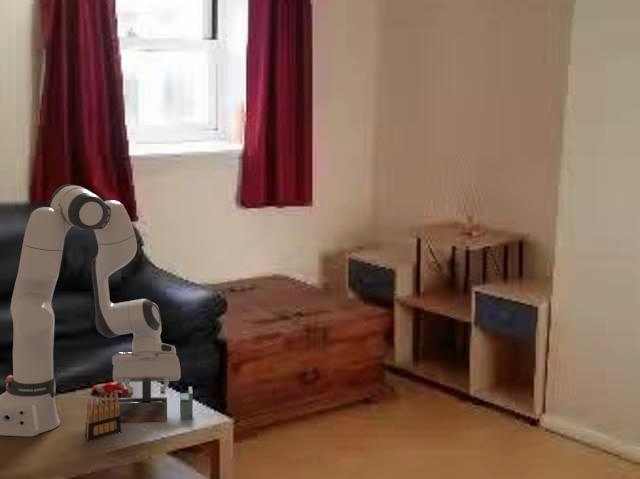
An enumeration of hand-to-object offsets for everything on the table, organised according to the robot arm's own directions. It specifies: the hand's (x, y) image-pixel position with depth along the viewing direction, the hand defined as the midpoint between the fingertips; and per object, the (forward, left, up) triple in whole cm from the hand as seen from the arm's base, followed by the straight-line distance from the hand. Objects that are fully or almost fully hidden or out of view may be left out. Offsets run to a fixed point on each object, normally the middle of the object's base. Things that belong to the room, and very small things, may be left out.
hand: (146, 393), depth 292 cm
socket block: (+12, 0, -7) cm, 14 cm away
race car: (-11, +21, -8) cm, 25 cm away
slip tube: (-4, 0, -5) cm, 6 cm away
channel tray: (-5, 0, -7) cm, 9 cm away
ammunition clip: (-12, -14, -8) cm, 20 cm away
